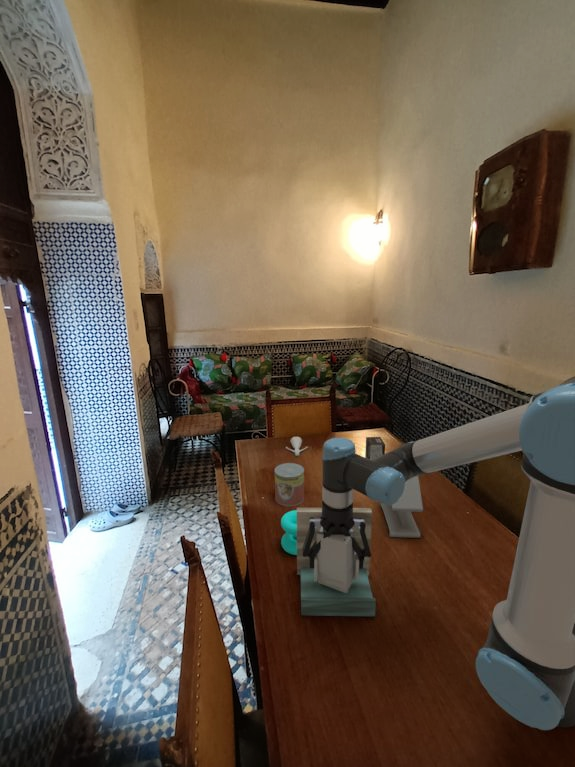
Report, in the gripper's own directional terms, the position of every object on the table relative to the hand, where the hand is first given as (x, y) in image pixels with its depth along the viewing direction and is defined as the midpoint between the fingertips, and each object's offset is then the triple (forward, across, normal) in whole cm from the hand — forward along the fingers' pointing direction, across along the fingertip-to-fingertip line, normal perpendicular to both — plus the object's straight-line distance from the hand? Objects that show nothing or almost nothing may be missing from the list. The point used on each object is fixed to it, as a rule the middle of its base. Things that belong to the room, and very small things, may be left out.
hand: (335, 577), depth 92 cm
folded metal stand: (+6, -25, -32) cm, 41 cm away
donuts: (+5, +10, -18) cm, 22 cm away
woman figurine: (+6, +10, -90) cm, 91 cm away
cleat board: (+5, 0, 0) cm, 5 cm away
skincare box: (+1, 0, 0) cm, 1 cm away
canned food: (+5, +13, -46) cm, 48 cm away
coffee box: (+5, -23, -64) cm, 68 cm away
